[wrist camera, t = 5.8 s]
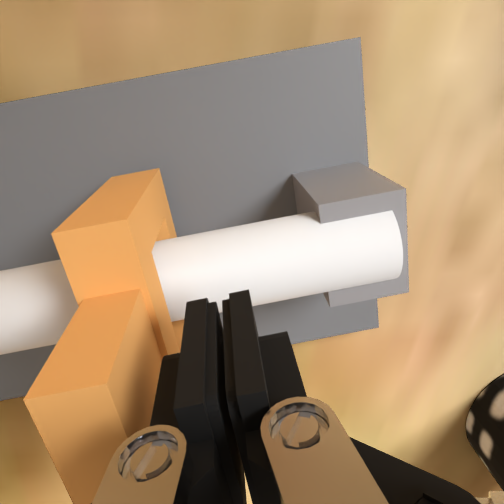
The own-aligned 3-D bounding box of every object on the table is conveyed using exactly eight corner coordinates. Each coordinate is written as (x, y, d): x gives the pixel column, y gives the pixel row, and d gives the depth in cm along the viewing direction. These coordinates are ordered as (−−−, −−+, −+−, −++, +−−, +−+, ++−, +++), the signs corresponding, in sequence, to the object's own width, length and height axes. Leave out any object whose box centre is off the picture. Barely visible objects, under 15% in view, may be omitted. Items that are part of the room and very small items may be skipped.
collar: (159, 168, 17) (83, 289, 7) (196, 312, 20) (178, 550, 10) (111, 176, 17) (-33, 311, 7) (154, 320, 20) (95, 566, 10)
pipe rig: (349, 40, 18) (431, 15, 12) (369, 313, 24) (433, 408, 17) (-337, 166, 18) (-682, 220, 11) (-160, 415, 23) (-318, 557, 16)
